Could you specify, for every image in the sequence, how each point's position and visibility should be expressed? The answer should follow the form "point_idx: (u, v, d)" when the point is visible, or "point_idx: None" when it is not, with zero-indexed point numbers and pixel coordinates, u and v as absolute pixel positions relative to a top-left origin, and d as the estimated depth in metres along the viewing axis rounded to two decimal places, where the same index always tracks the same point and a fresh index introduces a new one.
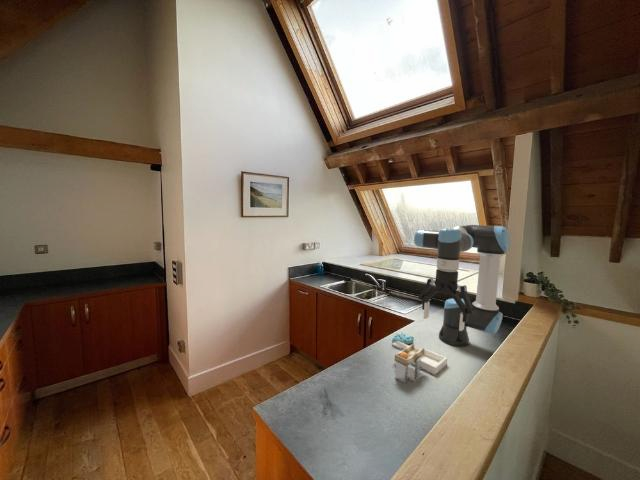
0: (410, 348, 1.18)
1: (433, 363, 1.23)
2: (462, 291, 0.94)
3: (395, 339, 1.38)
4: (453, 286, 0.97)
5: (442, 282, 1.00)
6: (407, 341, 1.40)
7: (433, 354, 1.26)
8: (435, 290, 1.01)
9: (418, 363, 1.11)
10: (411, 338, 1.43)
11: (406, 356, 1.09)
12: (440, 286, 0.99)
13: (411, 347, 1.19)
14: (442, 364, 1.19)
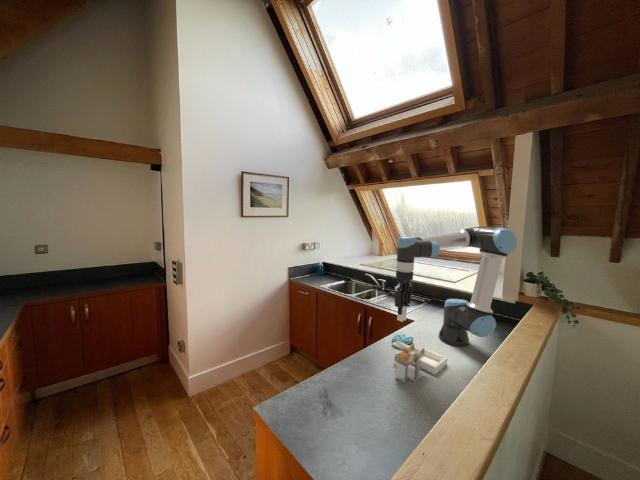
0: (410, 348, 1.18)
1: (433, 363, 1.23)
2: None
3: (395, 339, 1.38)
4: None
5: None
6: (407, 341, 1.40)
7: (433, 354, 1.26)
8: None
9: (418, 363, 1.11)
10: (411, 338, 1.42)
11: (406, 356, 1.09)
12: None
13: (411, 347, 1.19)
14: (442, 364, 1.19)
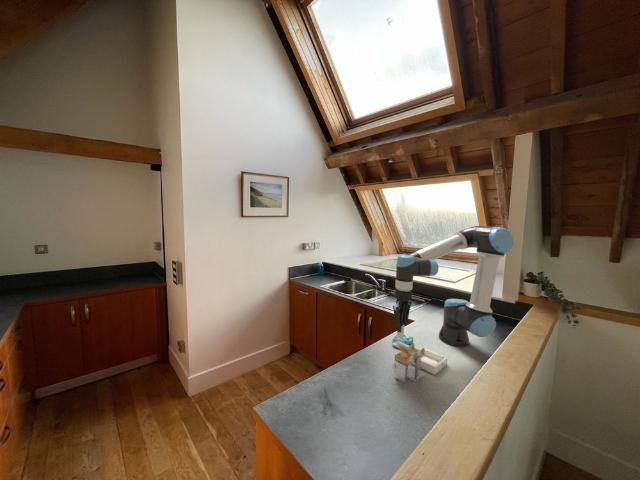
0: (410, 348, 1.18)
1: (433, 363, 1.23)
2: None
3: (395, 340, 1.37)
4: None
5: None
6: (407, 341, 1.39)
7: (433, 354, 1.26)
8: None
9: (418, 363, 1.11)
10: (411, 338, 1.42)
11: (406, 356, 1.09)
12: None
13: (411, 347, 1.19)
14: (442, 364, 1.19)
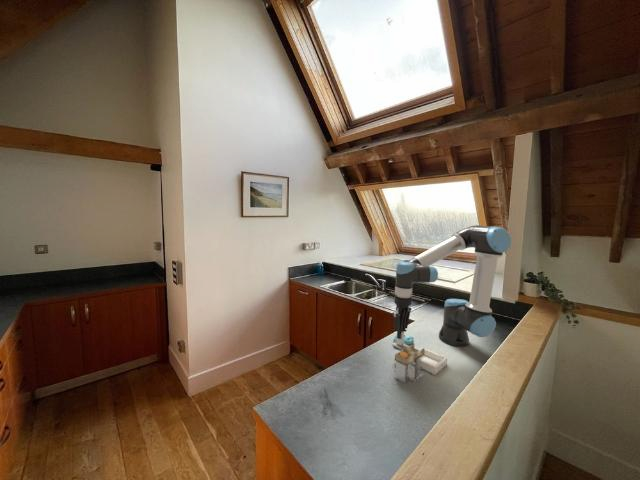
0: (410, 348, 1.19)
1: (433, 363, 1.23)
2: None
3: (396, 340, 1.37)
4: None
5: None
6: (408, 342, 1.39)
7: (433, 354, 1.26)
8: None
9: (418, 363, 1.11)
10: (411, 338, 1.42)
11: (406, 356, 1.09)
12: None
13: (411, 347, 1.19)
14: (442, 364, 1.19)
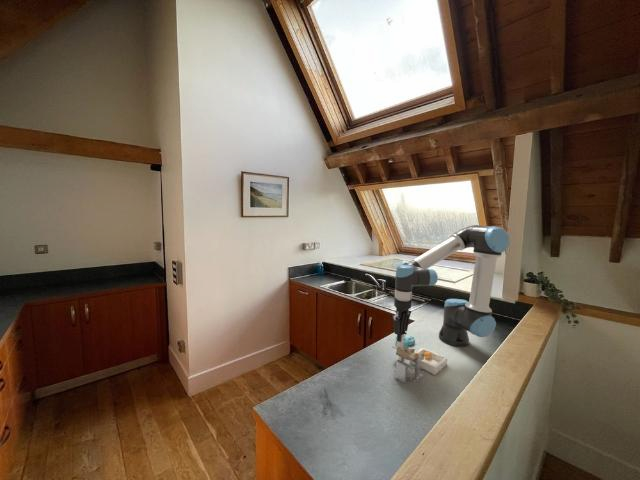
0: (410, 351, 1.19)
1: (433, 363, 1.23)
2: None
3: None
4: None
5: None
6: (410, 342, 1.39)
7: (433, 354, 1.26)
8: None
9: (418, 363, 1.11)
10: (413, 339, 1.42)
11: None
12: None
13: (411, 351, 1.20)
14: (442, 364, 1.19)
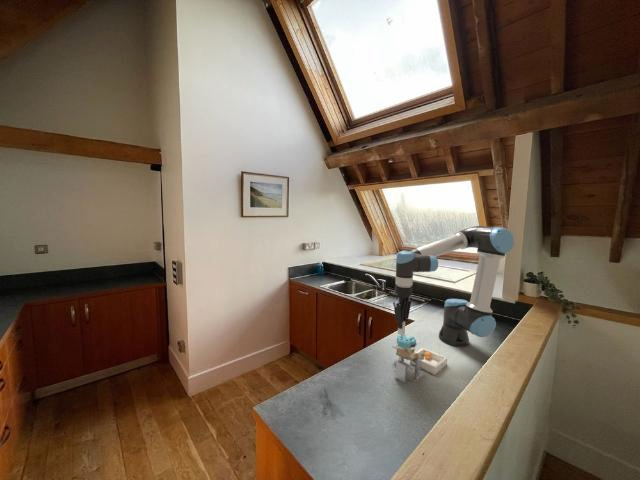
0: (410, 351, 1.19)
1: (433, 363, 1.23)
2: None
3: (401, 342, 1.35)
4: None
5: None
6: (411, 342, 1.39)
7: (433, 354, 1.26)
8: None
9: (418, 363, 1.11)
10: (414, 339, 1.42)
11: None
12: None
13: (411, 351, 1.20)
14: (442, 364, 1.19)
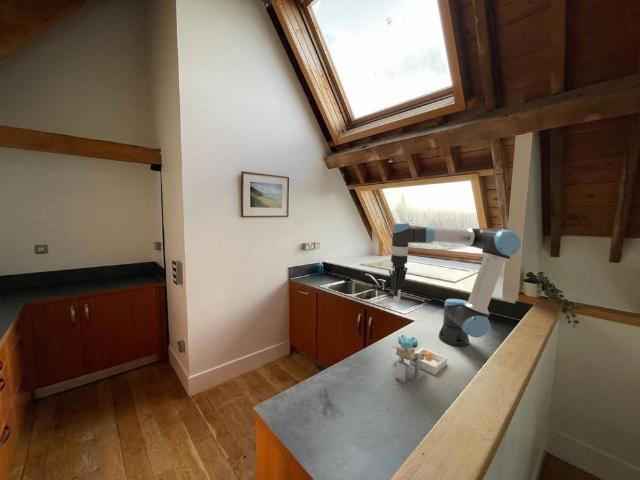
0: (410, 351, 1.19)
1: (433, 363, 1.23)
2: None
3: (405, 343, 1.34)
4: None
5: None
6: (414, 343, 1.38)
7: (433, 354, 1.26)
8: None
9: (418, 363, 1.11)
10: (415, 339, 1.42)
11: None
12: None
13: (411, 351, 1.20)
14: (442, 364, 1.19)
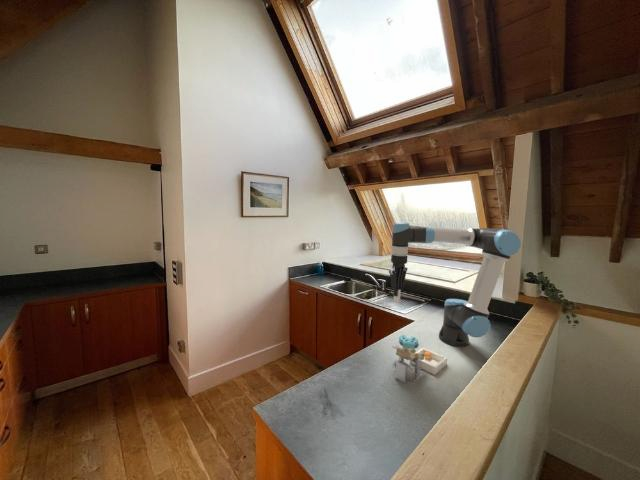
0: (410, 351, 1.19)
1: (433, 363, 1.23)
2: None
3: (407, 343, 1.34)
4: None
5: None
6: (415, 343, 1.38)
7: (433, 354, 1.26)
8: None
9: (418, 363, 1.11)
10: (416, 339, 1.42)
11: (430, 356, 1.26)
12: None
13: (411, 351, 1.20)
14: (442, 364, 1.19)
